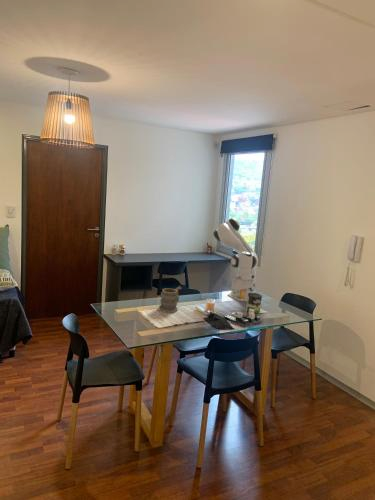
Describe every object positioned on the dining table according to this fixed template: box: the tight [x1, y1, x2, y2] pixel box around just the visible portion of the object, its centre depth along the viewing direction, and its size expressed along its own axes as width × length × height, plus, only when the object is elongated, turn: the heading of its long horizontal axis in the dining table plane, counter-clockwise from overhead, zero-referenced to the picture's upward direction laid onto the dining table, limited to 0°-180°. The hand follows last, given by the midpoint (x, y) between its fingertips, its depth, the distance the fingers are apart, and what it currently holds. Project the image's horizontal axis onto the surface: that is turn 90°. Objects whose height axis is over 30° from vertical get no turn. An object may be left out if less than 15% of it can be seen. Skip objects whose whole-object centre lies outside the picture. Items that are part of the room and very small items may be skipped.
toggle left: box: [236, 311, 243, 318], centre depth 245 cm, size 3×2×3 cm
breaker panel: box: [223, 311, 263, 328], centre depth 251 cm, size 17×20×4 cm
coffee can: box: [245, 292, 263, 316], centre depth 268 cm, size 10×10×14 cm
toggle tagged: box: [249, 312, 255, 319], centre depth 246 cm, size 3×2×3 cm
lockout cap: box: [237, 289, 245, 299], centre depth 251 cm, size 4×4×6 cm
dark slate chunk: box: [203, 311, 235, 330], centre depth 242 cm, size 15×22×5 cm
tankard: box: [158, 285, 182, 314], centre depth 260 cm, size 20×13×15 cm, turn 143°
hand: (241, 295), depth 252 cm, fingers closed on lockout cap, 4 cm apart
